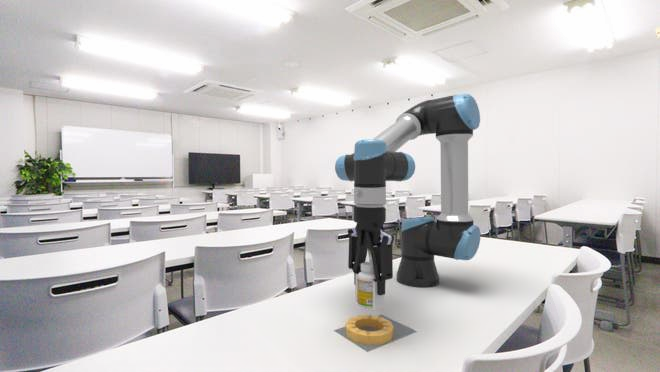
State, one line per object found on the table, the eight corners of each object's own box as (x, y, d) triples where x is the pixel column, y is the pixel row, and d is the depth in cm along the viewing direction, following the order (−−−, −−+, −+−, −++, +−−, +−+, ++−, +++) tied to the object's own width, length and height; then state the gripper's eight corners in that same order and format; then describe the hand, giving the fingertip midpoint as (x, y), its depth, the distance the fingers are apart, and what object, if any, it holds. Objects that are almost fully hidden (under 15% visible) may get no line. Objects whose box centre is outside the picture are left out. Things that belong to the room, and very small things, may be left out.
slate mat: (333, 332, 78) (333, 330, 78) (381, 316, 88) (381, 314, 88) (367, 354, 69) (367, 351, 69) (417, 333, 78) (417, 331, 78)
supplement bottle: (365, 299, 80) (365, 260, 80) (384, 304, 77) (384, 263, 77) (352, 305, 76) (353, 264, 76) (372, 311, 73) (372, 268, 73)
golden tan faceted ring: (336, 330, 78) (336, 322, 78) (370, 319, 85) (370, 311, 85) (367, 350, 69) (367, 340, 69) (402, 335, 76) (402, 327, 76)
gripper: (333, 204, 82) (333, 295, 82) (386, 209, 67) (385, 321, 67) (356, 203, 86) (355, 290, 86) (411, 207, 71) (410, 313, 71)
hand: (368, 303), depth 77 cm, fingers closed on supplement bottle, 5 cm apart
